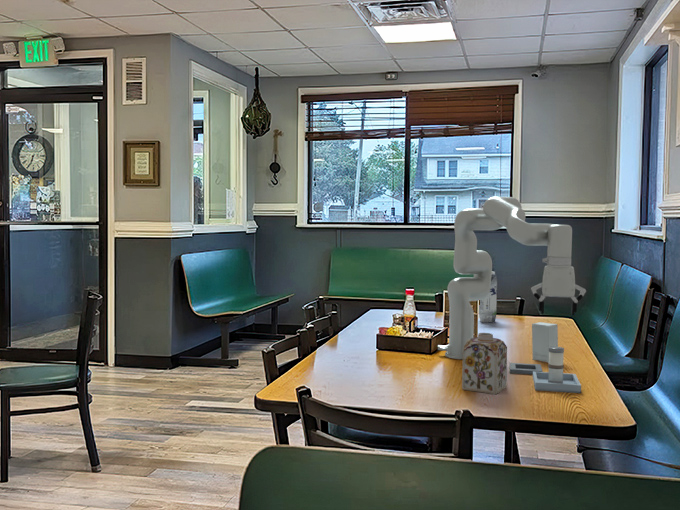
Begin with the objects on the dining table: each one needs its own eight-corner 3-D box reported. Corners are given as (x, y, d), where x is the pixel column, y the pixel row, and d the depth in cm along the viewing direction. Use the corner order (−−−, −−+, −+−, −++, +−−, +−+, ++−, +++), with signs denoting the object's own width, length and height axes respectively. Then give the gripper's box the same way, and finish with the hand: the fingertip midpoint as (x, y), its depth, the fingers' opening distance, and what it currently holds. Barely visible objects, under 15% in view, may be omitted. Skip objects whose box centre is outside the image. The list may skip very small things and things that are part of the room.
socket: (509, 374, 235) (510, 369, 235) (509, 366, 248) (509, 361, 248) (542, 376, 232) (542, 371, 232) (539, 368, 245) (540, 362, 245)
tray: (535, 390, 214) (535, 382, 214) (532, 378, 230) (532, 371, 230) (580, 393, 211) (581, 385, 211) (575, 381, 226) (575, 373, 226)
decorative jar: (473, 382, 224) (474, 329, 223) (507, 387, 218) (508, 332, 217) (460, 390, 214) (461, 334, 213) (496, 395, 208) (497, 338, 207)
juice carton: (479, 322, 351) (480, 271, 349) (478, 319, 361) (479, 270, 359) (496, 323, 349) (497, 272, 348) (495, 320, 359) (496, 270, 358)
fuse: (548, 384, 219) (549, 348, 218) (547, 381, 223) (548, 346, 223) (563, 385, 217) (564, 349, 217) (562, 382, 222) (563, 346, 221)
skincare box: (558, 362, 256) (559, 324, 255) (548, 364, 252) (549, 325, 251) (541, 358, 263) (542, 321, 262) (530, 360, 259) (531, 322, 258)
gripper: (532, 262, 216) (530, 314, 217) (588, 263, 212) (586, 316, 213) (531, 260, 224) (529, 311, 225) (585, 262, 220) (583, 313, 221)
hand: (557, 313), depth 219 cm, fingers open, 9 cm apart
